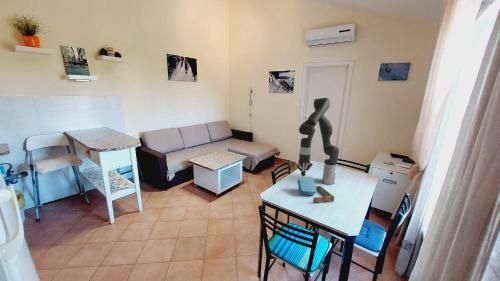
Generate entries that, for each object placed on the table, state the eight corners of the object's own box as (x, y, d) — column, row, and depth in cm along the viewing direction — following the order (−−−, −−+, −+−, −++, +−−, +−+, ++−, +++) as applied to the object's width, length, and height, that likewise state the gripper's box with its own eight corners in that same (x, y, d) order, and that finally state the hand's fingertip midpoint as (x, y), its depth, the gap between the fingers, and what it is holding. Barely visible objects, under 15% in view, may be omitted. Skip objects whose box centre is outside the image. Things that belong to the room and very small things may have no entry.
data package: (314, 195, 154) (311, 182, 162) (316, 192, 150) (313, 178, 159) (299, 193, 152) (297, 180, 161) (301, 190, 149) (299, 177, 158)
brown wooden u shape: (319, 190, 162) (320, 185, 162) (333, 201, 145) (334, 196, 145) (301, 191, 159) (302, 186, 158) (313, 203, 142) (314, 198, 141)
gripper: (310, 151, 146) (308, 173, 150) (294, 151, 143) (292, 174, 147) (316, 154, 139) (313, 177, 143) (298, 154, 136) (296, 178, 140)
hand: (302, 175), depth 145 cm, fingers closed
